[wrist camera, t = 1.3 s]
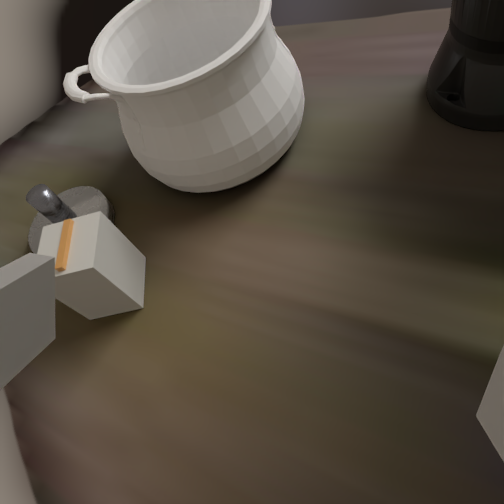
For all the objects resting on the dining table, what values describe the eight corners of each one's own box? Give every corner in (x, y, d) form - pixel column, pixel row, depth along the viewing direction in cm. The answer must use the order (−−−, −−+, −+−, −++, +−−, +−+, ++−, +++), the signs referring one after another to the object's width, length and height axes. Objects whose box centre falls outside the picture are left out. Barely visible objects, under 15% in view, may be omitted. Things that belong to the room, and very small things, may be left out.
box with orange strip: (96, 269, 54) (39, 223, 45) (145, 257, 52) (97, 207, 44) (89, 320, 50) (26, 280, 41) (143, 308, 49) (89, 264, 40)
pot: (177, 247, 52) (96, 148, 38) (115, 147, 66) (38, 47, 52) (359, 123, 54) (347, -15, 40) (261, 52, 68) (227, -69, 54)
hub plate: (46, 206, 63) (6, 171, 56) (118, 185, 61) (84, 146, 54) (31, 274, 56) (-17, 244, 50) (110, 254, 54) (72, 219, 48)
